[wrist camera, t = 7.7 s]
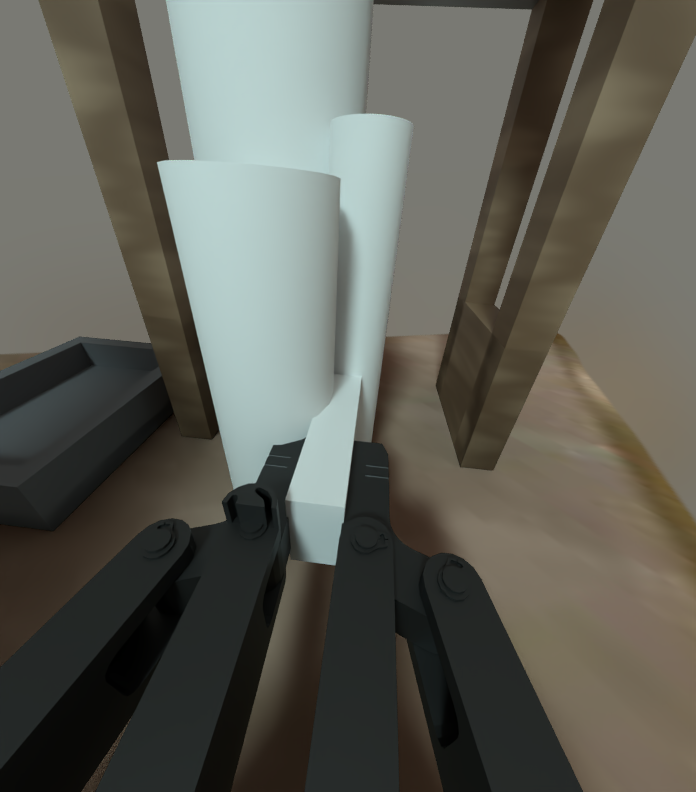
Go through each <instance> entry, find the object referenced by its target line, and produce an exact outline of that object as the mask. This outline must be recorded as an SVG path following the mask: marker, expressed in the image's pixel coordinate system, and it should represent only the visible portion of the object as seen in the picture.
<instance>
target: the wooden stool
mask: <svg viewBox="0 0 696 792" xmlns="http://www.w3.org/2000/svg"><path fill="white" fill-rule="evenodd" d="M592 2H593V0H374V3H373V4H386V5H416V6H445V7H446V6H447V7H476V8H505V9H532V12H531V16H530V20H529V24H528V28H527V31H526V36H525V39H524V44H523V47H522V51H521V55H520V59H519V63H518V67H517V71H516V74H515V78H514V83H513V86H512V90H511V95H510V98H509V102H508V106H507V110H506V114H505V117H504V121H503V126H502V129H501V133H500V137H499V141H498V145H497V149H496V153H495V157H494V160H493V164H492V168H491V172H490V176H489V180H488V184H487V188H486V192H485V196H484V199H483V203H482V207H481V211H480V215H479V219H478V223H477V227H476V231H475V235H474V238H473V243H472V246H471V250H470V254H469V258H468V262H467V266H466V270H465V274H464V278H463V281H462V286H461V289H460V293H459V297H458V301H457V305H456V309H455V313H454V317H453V321H452V324H451V328H450V332H449V336H448V340H447V344H446V348H445V352H444V356H443V360H442V363H441V367H440V371H439V375H438V379H437V383H436V387H437V391H438V394H439V397H440V401H441V404H442V407H443V411H444V414H445V417H446V421H447V424H448V427H449V431H450V434H451V437H452V441H453V444H454V447H455V451H456V454H457V457H458V461H459V464H460V467H466V468H475V469H484V470H494V467H495V465H496V463H497V461H498V459H499V457H500V455H501V452H502V450H503V448H504V446H505V444H506V442H507V439H508V437H509V435H510V433H511V431H512V429H513V427H514V424H515V422H516V420H517V418H518V416H519V414H520V412H521V409H522V407H523V405H524V403H525V401H526V399H527V396H528V394H529V392H530V390H531V388H532V386H533V384H534V381H535V379H536V377H537V375H538V373H539V371H540V369H541V366H542V364H543V362H544V360H545V358H546V356H547V353H548V351H549V349H550V347H551V345H552V343H553V341H554V338H555V336H556V334H557V332H558V330H559V328H560V325H561V323H562V321H563V319H564V317H565V315H566V313H567V310H568V308H569V306H570V304H571V302H572V300H573V298H574V295H575V293H576V291H577V289H578V287H579V285H580V283H581V280H582V278H583V276H584V274H585V272H586V270H587V268H588V265H589V263H590V261H591V259H592V257H593V255H594V252H595V250H596V248H597V246H598V244H599V242H600V239H601V237H602V235H603V233H604V231H605V229H606V227H607V224H608V222H609V220H610V218H611V216H612V214H613V212H614V209H615V207H616V205H617V203H618V201H619V199H620V197H621V194H622V192H623V190H624V188H625V186H626V184H627V182H628V179H629V177H630V175H631V173H632V171H633V169H634V166H635V164H636V162H637V160H638V158H639V156H640V154H641V151H642V149H643V147H644V145H645V143H646V141H647V138H648V136H649V134H650V132H651V130H652V128H653V126H654V123H655V121H656V119H657V117H658V114H659V113H660V111H661V108H662V106H663V104H664V102H665V100H666V98H667V96H668V93H669V91H670V89H671V87H672V85H673V83H674V80H675V78H676V76H677V74H678V72H679V70H680V68H681V65H682V63H683V61H684V59H685V57H686V55H687V52H688V50H689V48H690V46H691V44H692V42H693V40H694V37H695V35H696V0H605V1H604V3H603V7H602V9H601V12H600V15H599V18H598V21H597V24H596V27H595V30H594V33H593V36H592V39H591V42H590V45H589V48H588V51H587V54H586V57H585V59H584V62H583V65H582V68H581V71H580V74H579V77H578V81H577V83H576V86H575V89H574V92H573V95H572V98H571V101H570V104H569V107H568V110H567V113H566V116H565V119H564V122H563V124H562V127H561V130H560V133H559V136H558V139H557V142H556V145H555V148H554V151H553V154H552V157H551V160H550V163H549V166H548V169H547V172H546V175H545V178H544V181H543V184H542V187H541V190H540V192H539V195H538V198H537V202H536V204H535V207H534V210H533V213H532V216H531V219H530V222H529V225H528V228H527V231H526V234H525V237H524V240H523V243H522V246H521V248H520V251H519V255H518V257H517V260H516V264H515V266H514V269H513V272H512V275H511V278H510V281H509V284H508V287H507V290H506V293H505V296H504V299H503V302H502V305H501V307H500V310H499V309H498V308H497V307H496V306H495V305H494V304H495V301H496V298H497V294H498V291H499V288H500V285H501V282H502V279H503V276H504V273H505V270H506V267H507V264H508V261H509V258H510V254H511V252H512V248H513V245H514V242H515V239H516V236H517V233H518V230H519V227H520V224H521V221H522V218H523V215H524V212H525V209H526V205H527V202H528V199H529V196H530V193H531V190H532V187H533V184H534V180H535V178H536V175H537V172H538V168H539V165H540V162H541V159H542V156H543V153H544V150H545V147H546V144H547V141H548V137H549V134H550V132H551V129H552V126H553V122H554V119H555V116H556V113H557V110H558V107H559V104H560V101H561V98H562V95H563V91H564V89H565V86H566V82H567V79H568V76H569V73H570V70H571V67H572V64H573V61H574V58H575V55H576V52H577V49H578V45H579V43H580V39H581V36H582V33H583V30H584V27H585V24H586V21H587V18H588V15H589V11H590V9H591V5H592ZM39 3H40V6H41V9H42V12H43V15H44V18H45V21H46V24H47V27H48V30H49V33H50V36H51V40H52V43H53V45H54V48H55V51H56V55H57V58H58V61H59V64H60V67H61V70H62V73H63V76H64V79H65V82H66V85H67V88H68V91H69V94H70V97H71V100H72V103H73V106H74V109H75V112H76V116H77V118H78V122H79V125H80V128H81V131H82V134H83V137H84V140H85V143H86V146H87V149H88V152H89V155H90V158H91V161H92V164H93V167H94V170H95V173H96V176H97V179H98V182H99V186H100V189H101V192H102V195H103V197H104V201H105V204H106V207H107V210H108V213H109V216H110V219H111V222H112V225H113V228H114V231H115V234H116V237H117V240H118V243H119V246H120V249H121V252H122V255H123V258H124V262H125V264H126V268H127V271H128V274H129V277H130V280H131V282H132V286H133V289H134V292H135V295H136V298H137V301H138V304H139V307H140V310H141V313H142V316H143V319H144V322H145V325H146V328H147V331H148V335H149V337H150V340H151V344H152V347H153V350H154V353H155V356H156V359H157V362H158V365H159V368H160V371H161V374H162V377H163V380H164V383H165V386H166V389H167V392H168V395H169V398H170V401H171V404H172V407H173V411H174V414H175V417H176V420H177V423H178V426H179V429H180V432H181V435H182V436H185V437H194V438H204V439H212V438H213V437H214V435H215V434H216V433H217V431H218V430H219V425H218V421H217V417H216V413H215V408H214V404H213V400H212V395H211V391H210V387H209V383H208V378H207V374H206V370H205V366H204V361H203V357H202V353H201V348H200V344H199V340H198V336H197V331H196V327H195V323H194V319H193V314H192V310H191V306H190V301H189V297H188V293H187V289H186V284H185V280H184V276H183V272H182V267H181V263H180V259H179V254H178V250H177V246H176V242H175V237H174V233H173V229H172V225H171V220H170V216H169V212H168V207H167V203H166V199H165V195H164V190H163V186H162V182H161V178H160V173H159V169H158V165H157V162H160V161H165V160H169V158H168V153H167V148H166V144H165V139H164V134H163V130H162V126H161V121H160V116H159V111H158V107H157V102H156V97H155V93H154V88H153V83H152V79H151V74H150V69H149V65H148V60H147V56H146V51H145V46H144V42H143V37H142V32H141V28H140V23H139V18H138V14H137V9H136V5H135V0H39Z"/></svg>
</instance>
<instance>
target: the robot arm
mask: <svg viewBox="0 0 696 792" xmlns="http://www.w3.org/2000/svg"><path fill="white" fill-rule="evenodd" d="M361 380H362V377H357V376H348V375H340V374H334V384H333V395H332V398H331V400H330V403H329V405H328V406H327V407H326V408H325V409H324V410H323V411H322V412H321V413H320V414H319V415H318V416H316V417H314V418H312V421H311V424H310V427H309V430H308V433H307V436H306V437H305V438H304V439H302V440H298V441H294V442H290V443H286V444H283V445H273V447H272V449H271V451H270V453H269V456H268V457H267V460H266V462H265V465H264V466H263V468H262V470H261V472H260V475H259V477H258V479H257V481H256V483H248V484H245V485H242V486H239V487H237V488H236V489H234V490H233V491H231V492H230V493H228V495H227V496H226V497H225V498H224V500H223V501H222V505H223V508H224V512H225V515H226V519H227V520H226V521H224V522H221V523H217V524H213V525H208V526H202V527H196V528H191V529H190V528H189V525H188V524H186V523H185V522H184V521H183V520H179V519H173V518H172V519H166V520H160V521H158V522H156V523H154V524H152V525H149V526H148V527H147V528H145V529H144V530H143V531H141V532H140V533H139V534H138V535H137V536H136V537H135V538H134V539H132V540H131V541H130V542H129V543H128V544H127V545H126V546H125V547H124V548H123V549H122V550H121V551H120V552H119V553H118V554H117V555H116V556H115V557H114V558H113V559H112V560H111V561H110V562H109V563H108V564H107V565H106V566H105V567H104V568H102V569H101V570H100V571H99V572H98V573H97V574H96V575H95V576H94V577H93V578H92V579H91V580H90V581H89V582H88V583H87V584H86V585H85V586H84V587H83V588H82V589H81V590H80V591H79V592H78V593H77V594H76V595H75V596H74V597H73V598H71V599H70V600H69V601H68V602H67V603H66V604H65V605H64V606H63V607H62V608H61V609H60V610H59V611H58V612H57V613H56V614H55V615H54V616H53V617H52V618H51V619H50V620H49V621H48V622H47V623H46V624H45V625H44V626H43V627H42V628H40V629H39V630H38V631H37V632H36V633H35V634H34V635H33V636H32V637H31V638H30V639H29V640H28V641H27V642H26V643H25V644H24V645H23V646H22V647H21V648H20V649H19V650H18V651H17V652H16V653H15V654H14V655H13V656H12V657H11V658H9V659H8V660H7V661H6V662H5V663H4V664H3V665H2V666H1V667H0V792H81V791H82V790H83V788H84V787H85V785H86V784H87V782H88V781H89V779H90V778H91V776H92V775H93V773H94V772H95V770H96V769H97V767H98V766H99V764H100V763H101V761H102V760H103V758H104V757H105V755H106V754H107V752H108V751H109V749H110V748H111V746H112V745H113V743H114V742H115V740H116V739H117V737H118V736H119V734H120V733H121V732H122V730H123V729H124V727H125V726H126V724H127V723H128V721H129V720H130V718H131V717H132V718H131V720H130V722H129V724H128V726H127V728H126V730H125V732H124V734H123V736H122V738H121V740H120V742H119V744H118V746H117V748H116V751H115V753H114V755H113V757H112V759H111V761H110V763H109V765H108V767H107V769H106V771H105V773H104V775H103V777H102V779H101V781H100V783H99V785H98V787H97V789H96V791H95V792H231V788H232V784H233V780H234V776H235V773H236V769H237V765H238V761H239V757H240V753H241V750H242V746H243V742H244V738H245V734H246V730H247V727H248V723H249V719H250V715H251V711H252V707H253V704H254V700H255V696H256V692H257V688H258V684H259V681H260V677H261V673H262V669H263V665H264V661H265V658H266V654H267V650H268V646H269V642H270V638H271V635H272V631H273V627H274V623H275V619H276V615H277V612H278V608H279V604H280V600H281V596H282V592H283V589H284V585H285V579H286V564H287V560H288V557H289V553H290V558H291V560H299V561H306V562H314V563H321V564H328V565H335V572H334V580H333V587H332V594H331V602H330V609H329V616H328V624H327V631H326V638H325V646H324V653H323V660H322V667H321V675H320V682H319V689H318V697H317V704H316V711H315V719H314V726H313V733H312V741H311V748H310V755H309V763H308V770H307V777H306V784H305V792H399V760H398V720H397V681H396V641H395V633H397V634H399V635H401V636H402V637H404V638H406V639H407V643H408V647H409V652H410V656H411V660H412V664H413V668H414V672H415V676H416V680H417V684H418V689H419V693H420V697H421V701H422V705H423V709H424V713H425V717H426V721H427V726H428V730H429V734H430V738H431V742H432V746H433V750H434V754H435V758H436V762H437V767H438V771H439V775H440V779H441V783H442V787H443V791H444V792H583V790H582V788H581V786H580V784H579V782H578V780H577V778H576V776H575V774H574V772H573V770H572V768H571V765H570V763H569V761H568V759H567V757H566V755H565V753H564V751H563V749H562V747H561V745H560V743H559V740H558V738H557V736H556V734H555V732H554V730H553V728H552V726H551V724H550V722H549V720H548V717H547V715H546V713H545V711H544V709H543V707H542V705H541V703H540V701H539V699H538V697H537V695H536V692H535V690H534V688H533V686H532V684H531V682H530V680H529V678H528V676H527V674H526V672H525V670H524V667H523V665H522V663H521V661H520V659H519V657H518V655H517V653H516V651H515V649H514V647H513V644H512V642H511V640H510V638H509V636H508V634H507V632H506V630H505V628H504V626H503V624H502V622H501V619H500V617H499V615H498V613H497V611H496V609H495V607H494V605H493V603H492V601H491V599H490V597H489V594H488V592H487V590H486V588H485V586H484V584H483V582H482V580H481V578H480V577H479V575H478V574H477V572H476V571H475V569H474V568H473V567H472V566H471V565H470V564H469V563H468V562H466V561H465V560H464V559H463V558H460V557H458V556H456V555H454V554H449V553H440V554H437V555H434V556H432V557H431V558H430V557H428V556H426V555H424V554H421V553H419V552H417V551H415V550H413V549H411V548H409V547H408V546H406V545H405V544H403V543H402V542H401V541H400V540H399V539H398V538H397V536H396V535H395V534H394V532H393V530H392V528H391V525H390V519H389V480H388V479H389V469H388V453H387V452H386V450H385V448H384V446H383V444H380V443H371V442H362V441H355V440H356V431H357V422H358V412H359V401H360V390H361ZM132 715H133V716H132Z"/></svg>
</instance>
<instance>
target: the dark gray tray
mask: <svg viewBox="0 0 696 792" xmlns="http://www.w3.org/2000/svg"><path fill="white" fill-rule="evenodd" d="M173 412H174V411H173V407H172V404H171V401H170V398H169V395H168V392H167V389H166V386H165V383H164V380H163V377H162V374H161V371H160V368H159V365H158V362H157V359H156V356H155V353H154V350H153V347H152V344H151V343H141V342H130V341H120V340H110V339H98V338H89V337H78V338H76V339H73V340H71V341H68V342H66V343H64V344H62V345H59V346H57V347H55V348H52V349H50V350H48V351H45V352H43V353H41V354H38V355H36V356H34V357H31V358H29V359H27V360H25V361H22V362H20V363H18V364H15V365H13V366H11V367H8V368H6V369H4V370H1V371H0V524H4V525H11V526H19V527H27V528H34V529H42V530H50V531H54V530H55V529H56V528H57V527H58V526H59V525H60V524H61V523H62V522H63V521H64V520H65V519H66V518H67V517H68V516H69V515H70V514H71V513H72V512H73V511H74V510H75V509H76V508H77V507H78V506H79V505H80V504H81V503H82V502H83V501H84V500H85V499H86V498H87V497H88V496H89V495H90V494H91V493H92V492H93V491H94V490H95V489H96V488H97V487H98V486H99V485H100V484H101V483H102V482H103V481H104V480H105V479H106V478H107V477H108V476H109V475H110V474H111V473H112V472H113V471H114V470H116V469H117V468H118V467H119V466H120V465H121V464H122V463H123V462H124V461H125V460H126V459H127V458H128V457H129V456H130V455H131V454H132V453H133V452H134V451H135V450H136V449H137V448H138V447H139V446H140V445H141V444H142V443H143V442H144V441H145V440H146V439H147V438H148V437H149V436H150V435H151V434H152V433H153V432H154V431H155V430H156V429H157V428H158V427H159V426H160V425H161V424H162V423H163V422H164V421H165V420H166V419H167V418H168V417H169V416H170V415H171V414H172V413H173Z"/></svg>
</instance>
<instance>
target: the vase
mask: <svg viewBox="0 0 696 792" xmlns="http://www.w3.org/2000/svg"><path fill="white" fill-rule="evenodd" d="M373 3H374V0H166V4H167V10H168V15H169V20H170V26H171V31H172V38H173V43H174V49H175V54H176V60H177V66H178V71H179V77H180V82H181V88H182V93H183V99H184V105H185V110H186V116H187V121H188V127H189V133H190V138H191V143H192V149H193V155H194V160H165V161H160V162H157V165H158V169H159V173H160V178H161V182H162V186H163V190H164V195H165V199H166V203H167V207H168V212H169V216H170V220H171V225H172V229H173V233H174V237H175V242H176V246H177V250H178V254H179V259H180V263H181V267H182V272H183V276H184V280H185V284H186V289H187V293H188V297H189V301H190V306H191V310H192V314H193V319H194V323H195V327H196V331H197V336H198V340H199V344H200V348H201V353H202V357H203V361H204V366H205V370H206V374H207V378H208V383H209V387H210V391H211V395H212V400H213V404H214V408H215V413H216V417H217V421H218V425H219V430H220V434H221V438H222V442H223V447H224V451H225V455H226V459H227V464H228V468H229V472H230V477H231V481H232V485H233V489H236V488H237V487H239V486H242V485H245V484H248V483H256V481H257V479H258V477H259V475H260V472H261V470H262V468H263V466H264V465H265V462H266V460H267V457H268V456H269V453H270V451H271V449H272V447H273V445H283V444H286V443H290V442H294V441H298V440H302V439H304V438H305V437H306V436H307V433H308V430H309V427H310V424H311V421H312V418H314V417H316V416H318V415H319V414H320V413H321V412H322V411H323V410H324V409H325V408H326V407H327V406H328V405H329V403H330V400H331V398H332V395H333V384H334V374H340V375H348V376H357V377H362V380H361V390H360V401H359V412H358V422H357V431H356V440H355V441H362V442H372V435H373V427H374V420H375V412H376V405H377V397H378V390H379V382H380V375H381V367H382V360H383V352H384V345H385V337H386V329H387V322H388V315H389V308H390V300H391V293H392V284H393V277H394V270H395V262H396V254H397V247H398V240H399V233H400V225H401V218H402V210H403V203H404V196H405V188H406V180H407V173H408V165H409V158H410V150H411V143H412V136H413V128H414V125H413V124H412V123H411V122H410V121H408V120H405V119H402V118H399V117H394V116H390V115H380V114H366V108H367V93H368V78H369V77H368V76H369V63H370V48H371V31H372V18H373Z"/></svg>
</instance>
